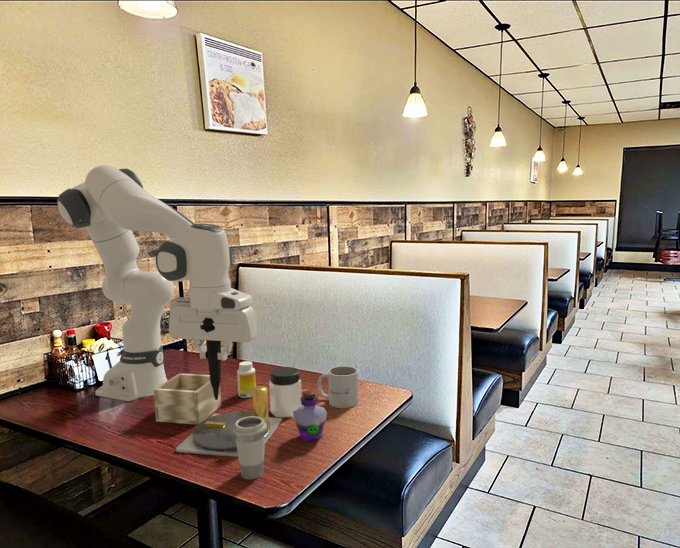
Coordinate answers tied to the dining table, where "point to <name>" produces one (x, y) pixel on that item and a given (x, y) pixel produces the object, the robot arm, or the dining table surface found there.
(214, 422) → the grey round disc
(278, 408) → the jar
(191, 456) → the dining table surface
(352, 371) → the mug
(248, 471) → the cup
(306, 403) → the potion bottle
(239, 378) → the supplement bottle
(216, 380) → the microphone
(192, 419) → the open wooden box
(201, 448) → the base
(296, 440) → the dining table surface
